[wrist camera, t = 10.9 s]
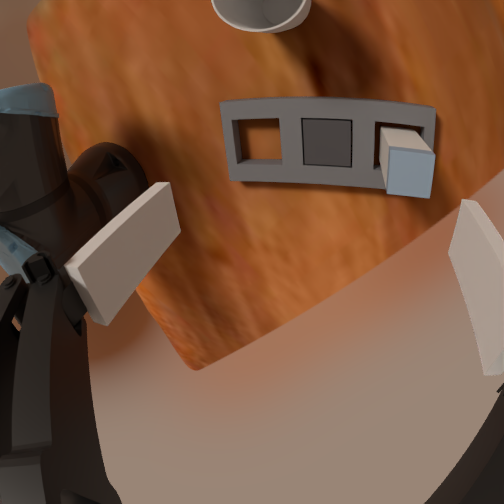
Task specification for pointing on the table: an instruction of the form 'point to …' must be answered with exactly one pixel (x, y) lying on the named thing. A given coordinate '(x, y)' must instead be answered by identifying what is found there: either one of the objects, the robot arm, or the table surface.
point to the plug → (405, 162)
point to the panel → (319, 138)
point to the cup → (262, 14)
